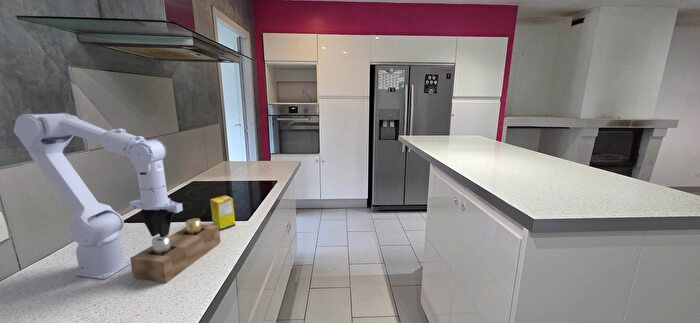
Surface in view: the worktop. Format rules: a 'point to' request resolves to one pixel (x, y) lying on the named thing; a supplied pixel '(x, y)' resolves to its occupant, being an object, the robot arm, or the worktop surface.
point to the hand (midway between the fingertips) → (160, 235)
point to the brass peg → (193, 226)
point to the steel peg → (161, 245)
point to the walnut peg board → (175, 255)
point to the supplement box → (222, 212)
